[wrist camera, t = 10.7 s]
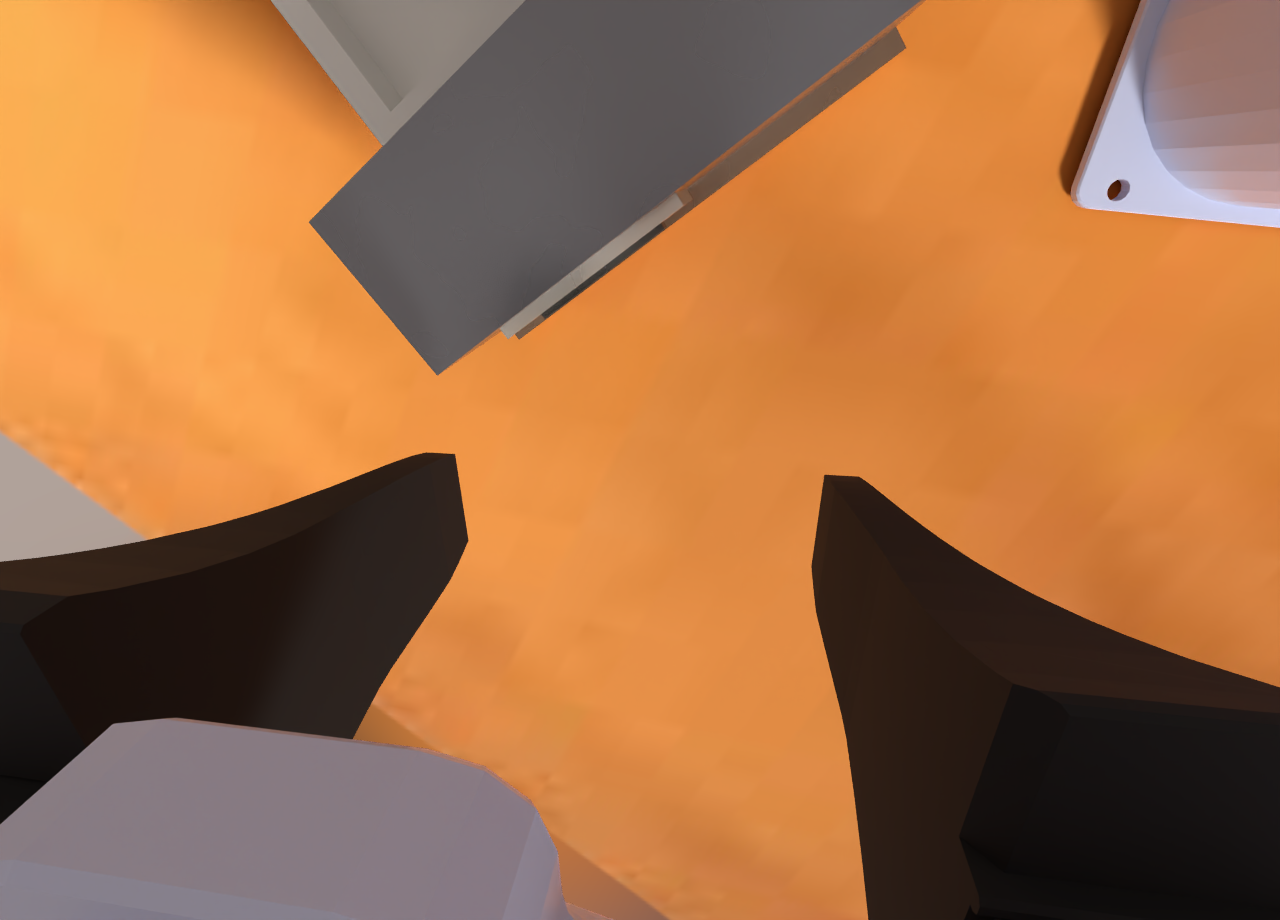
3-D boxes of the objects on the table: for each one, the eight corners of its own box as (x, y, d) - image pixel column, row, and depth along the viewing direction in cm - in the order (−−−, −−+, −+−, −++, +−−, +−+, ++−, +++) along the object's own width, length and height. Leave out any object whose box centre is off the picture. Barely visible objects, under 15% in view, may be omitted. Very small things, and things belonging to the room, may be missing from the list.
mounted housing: (799, -147, 14) (848, -393, 8) (896, 54, 16) (1003, -22, 9) (427, 200, 19) (277, 216, 13) (528, 331, 20) (437, 403, 14)
